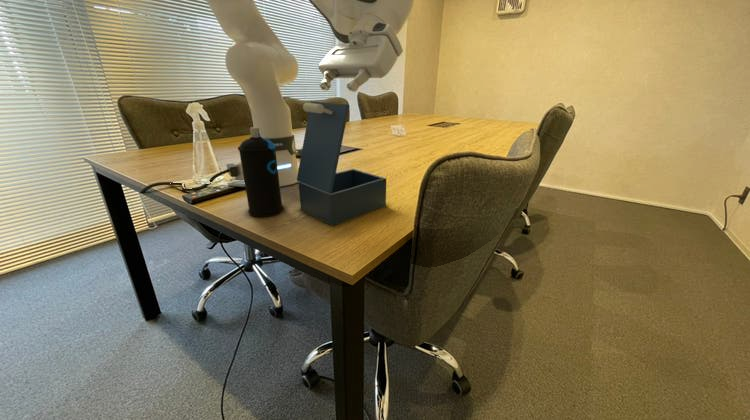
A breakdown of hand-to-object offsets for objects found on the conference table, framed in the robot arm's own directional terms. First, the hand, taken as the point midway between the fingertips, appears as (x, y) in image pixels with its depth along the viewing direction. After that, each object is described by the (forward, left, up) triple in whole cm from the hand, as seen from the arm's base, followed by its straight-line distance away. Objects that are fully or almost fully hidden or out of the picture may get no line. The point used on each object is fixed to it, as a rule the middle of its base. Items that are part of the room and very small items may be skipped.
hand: (336, 89), depth 65 cm
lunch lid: (-3, -3, -12) cm, 13 cm away
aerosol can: (-18, -2, -28) cm, 34 cm away
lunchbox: (+1, +1, -28) cm, 28 cm away
